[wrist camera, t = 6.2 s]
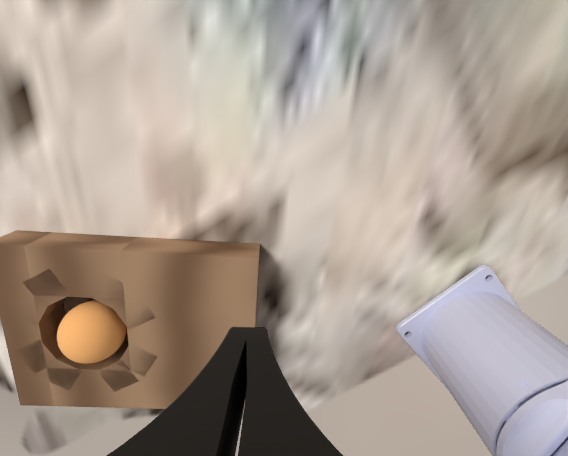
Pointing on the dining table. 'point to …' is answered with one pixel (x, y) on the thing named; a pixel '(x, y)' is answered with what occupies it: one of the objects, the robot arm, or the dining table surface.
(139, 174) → the dining table surface
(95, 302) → the ball
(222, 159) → the dining table surface
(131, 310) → the board
